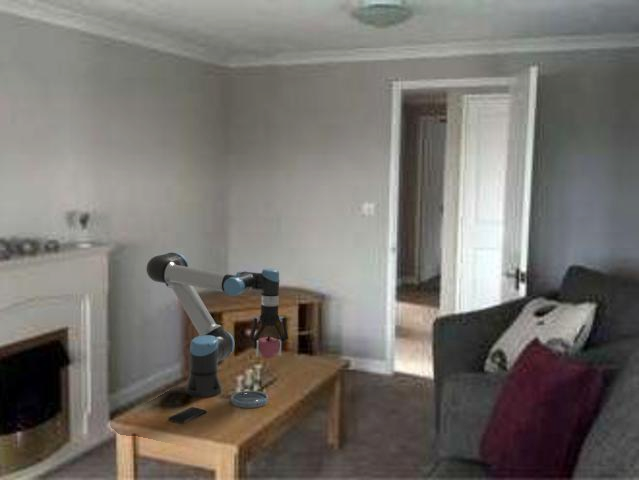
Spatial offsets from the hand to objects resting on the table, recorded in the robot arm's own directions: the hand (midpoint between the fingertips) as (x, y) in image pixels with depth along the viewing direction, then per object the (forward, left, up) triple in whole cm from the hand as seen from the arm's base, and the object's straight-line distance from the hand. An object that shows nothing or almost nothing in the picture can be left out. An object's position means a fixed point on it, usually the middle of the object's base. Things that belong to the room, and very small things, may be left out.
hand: (268, 355), depth 295 cm
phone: (-36, -27, -16) cm, 47 cm away
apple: (0, 0, -1) cm, 1 cm away
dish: (-10, -14, -15) cm, 23 cm away
